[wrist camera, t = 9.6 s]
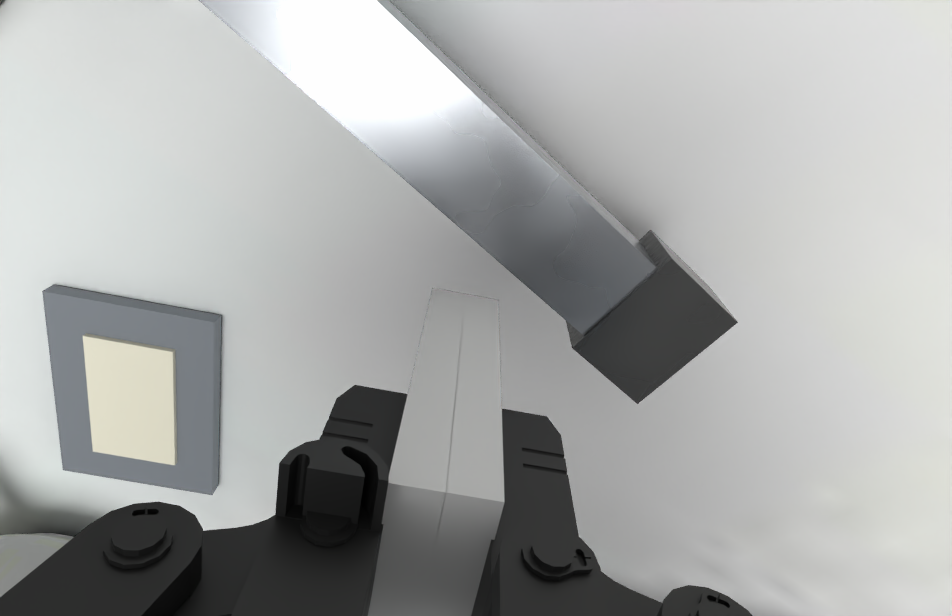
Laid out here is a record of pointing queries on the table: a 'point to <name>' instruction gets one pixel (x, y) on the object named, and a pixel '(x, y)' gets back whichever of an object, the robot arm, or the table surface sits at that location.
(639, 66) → the table surface
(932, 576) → the table surface
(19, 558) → the teacup
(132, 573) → the robot arm
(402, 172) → the swing arm
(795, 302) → the table surface
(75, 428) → the label plate
